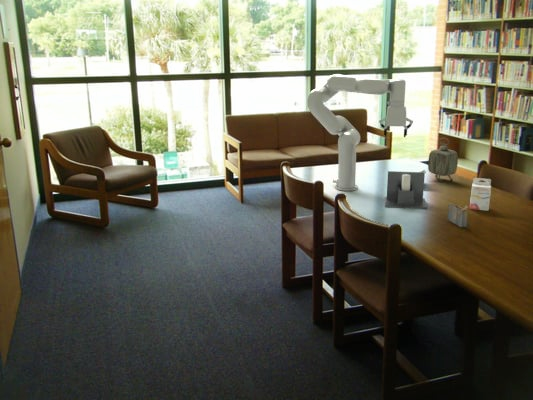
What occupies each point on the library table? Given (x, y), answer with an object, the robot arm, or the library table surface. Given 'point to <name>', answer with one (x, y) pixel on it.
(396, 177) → the cup bracket
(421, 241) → the library table surface
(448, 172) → the tabletop clock
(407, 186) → the off-white rounded cylinder
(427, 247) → the library table surface
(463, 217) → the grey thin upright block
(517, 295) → the library table surface
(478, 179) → the ink cartridge box
